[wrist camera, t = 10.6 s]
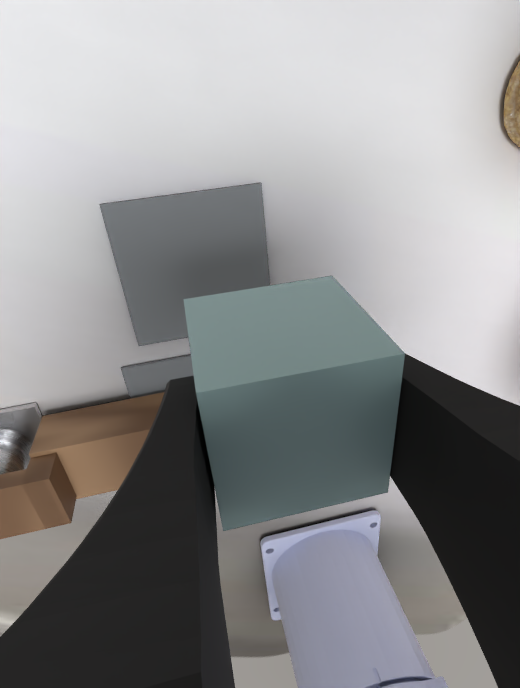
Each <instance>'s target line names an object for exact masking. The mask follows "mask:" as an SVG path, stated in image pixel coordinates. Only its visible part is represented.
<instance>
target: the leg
mask: <svg viewBox="0 0 520 688" xmlns="http://www.w3.org/2000/svg"><path fill="white" fill-rule="evenodd" d="M163 395H164V392H162V393H157V394H152V395H147V396H142V397H137V398H132V399H126V400H121V401H116V402H111V403H106V404H101V405H96V406H91V407H86V408H80V409H75V410H70V411H65V412H60V413H55V414H50V415H45V416H42V419H41V422H40V424H39V427H38V430H37V433H36V435H35V438H34V441H33V444H32V447H31V449H30V452H29V456H30V461H29V464H28V467H27V469H24V470H19V471H15V472H10V473H5V474H0V539H3V538H7V537H12V536H16V535H20V534H25V533H29V532H34V531H38V530H42V529H47V528H51V527H55V526H60V525H64V524H68V523H71V521H72V516H73V511H74V506H75V501H76V499H79V498H83V497H88V496H92V495H97V494H101V493H106V492H110V491H115V490H118V489H119V488H120V486H121V484H122V483H123V481H124V479H125V477H126V476H127V474H128V472H129V470H130V469H131V467H132V465H133V463H134V461H135V459H136V457H137V455H138V453H139V452H140V450H141V448H142V446H143V444H144V442H145V440H146V437H147V435H148V433H149V431H150V428H151V426H152V424H153V422H154V420H155V417H156V415H157V412H158V409H159V407H160V404H161V401H162V398H163Z"/></svg>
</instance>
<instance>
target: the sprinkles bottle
mask: <svg viewBox="0 0 520 688" xmlns="http://www.w3.org/2000/svg"><path fill="white" fill-rule="evenodd" d="M504 126H505V128H506V130H507V132H508V136H509V137H510V138H511V140H512V141H513V142H514V143H515V144H517V146H518V147H520V61H519V63H518V65H517V67H516V68H515V70H514V72H513V74H512V76H511V78H510V81H509V84H508V87H507V90H506V94H505V100H504Z"/></svg>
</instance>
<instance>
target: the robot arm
mask: <svg viewBox="0 0 520 688" xmlns="http://www.w3.org/2000/svg"><path fill="white" fill-rule="evenodd" d="M390 476H391V478H392V479H393V481H394V482H395V484H396V486H397V487H398V489H399V490H400V492H401V493H402V495H403V496H404V498H405V500H406V501H407V503H408V504H409V506H410V507H411V509H412V511H413V512H414V514H415V515H416V517H417V519H418V520H419V522H420V524H421V526H422V527H423V529H424V531H425V532H426V534H427V536H428V538H429V540H430V542H431V544H432V546H433V548H434V550H435V552H436V554H437V556H438V558H439V560H440V562H441V564H442V566H443V568H444V570H445V572H446V574H447V576H448V578H449V580H450V582H451V584H452V586H453V589H454V591H455V593H456V595H457V597H458V599H459V601H460V603H461V605H462V607H463V609H464V611H465V614H466V616H467V618H468V620H469V622H470V625H471V627H472V629H473V631H474V633H475V636H476V638H477V640H478V642H479V644H480V647H481V649H482V651H483V653H484V656H485V658H486V660H487V662H488V664H489V667H490V669H491V672H492V674H493V676H494V679H495V681H496V683H497V686H498V688H520V406H519V405H516V404H513V403H511V402H508V401H506V400H503V399H501V398H498V397H496V396H493V395H491V394H489V393H486V392H484V391H482V390H479V389H477V388H475V387H473V386H470V385H468V384H466V383H464V382H462V381H459V380H457V379H455V378H453V377H451V376H449V375H447V374H445V373H443V372H441V371H439V370H437V369H435V368H433V367H431V366H429V365H427V364H425V363H423V362H421V361H419V360H417V359H415V358H413V357H411V356H409V355H407V354H405V358H404V366H403V374H402V382H401V390H400V398H399V406H398V414H397V422H396V430H395V438H394V446H393V454H392V462H391V471H390ZM380 522H381V516H380V514H379V512H378V511H375V510H373V511H368V512H364V513H360V514H356V515H352V516H348V517H344V518H340V519H336V520H332V521H327V522H323V523H319V524H315V525H311V526H307V527H303V528H299V529H295V530H291V531H287V532H283V533H279V534H275V535H271V536H267V537H264V538H263V539H262V540H261V542H260V545H261V552H262V559H263V566H264V573H265V580H266V587H267V594H268V601H269V607H270V614H271V618H272V619H273V620H281V619H282V623H283V627H284V632H285V636H286V640H287V644H288V648H289V653H290V657H291V661H292V665H293V669H294V674H295V678H296V682H297V686H298V688H448V686H447V684H446V682H445V680H444V678H443V677H442V676H440V677H437V678H435V676H434V674H433V671H432V669H431V667H430V665H429V663H428V661H427V659H426V657H425V655H424V653H423V651H422V648H421V646H420V644H419V642H418V640H417V638H416V636H415V634H414V632H413V630H412V628H411V626H410V623H409V621H408V619H407V617H406V615H405V613H404V611H403V609H402V607H401V605H400V603H399V601H398V598H397V596H396V594H395V592H394V590H393V588H392V586H391V584H390V582H389V580H388V578H387V575H386V573H385V571H384V569H383V567H382V565H381V563H380V561H379V559H378V557H377V555H378V544H379V533H380ZM0 688H235V684H234V678H233V670H232V663H231V656H230V649H229V642H228V635H227V628H226V621H225V614H224V607H223V600H222V593H221V586H220V576H219V565H218V547H217V528H216V508H215V489H214V481H213V476H212V471H211V466H210V461H209V456H208V451H207V446H206V441H205V436H204V431H203V426H202V421H201V416H200V411H199V406H198V401H197V396H196V389H195V382H194V376H188V377H183V378H177V379H172V380H170V381H169V382H168V383H167V384H166V388H165V392H164V395H163V398H162V401H161V404H160V407H159V409H158V412H157V415H156V417H155V420H154V422H153V424H152V426H151V428H150V431H149V433H148V435H147V437H146V440H145V442H144V444H143V446H142V448H141V450H140V452H139V453H138V455H137V457H136V459H135V461H134V463H133V465H132V467H131V469H130V470H129V472H128V474H127V476H126V477H125V479H124V481H123V483H122V484H121V486H120V488H119V489H118V491H117V492H116V494H115V496H114V497H113V499H112V500H111V502H110V503H109V505H108V506H107V508H106V509H105V511H104V512H103V514H102V515H101V517H100V518H99V519H98V521H97V522H96V524H95V525H94V526H93V528H92V529H91V530H90V532H89V533H88V535H87V536H86V537H85V539H84V540H83V542H82V543H81V544H80V545H79V547H78V548H77V549H76V551H75V552H74V553H73V555H72V556H71V557H70V558H69V560H68V561H67V562H66V563H65V564H64V566H63V567H62V568H61V569H60V570H59V572H58V573H57V574H56V575H55V576H54V577H53V579H52V580H51V581H50V582H49V583H48V584H47V586H46V587H45V588H44V589H43V590H42V592H41V593H40V594H39V595H38V596H37V597H36V599H35V600H34V601H33V602H32V603H31V604H30V606H29V607H28V608H27V609H26V610H25V611H24V612H23V613H22V615H21V616H20V617H19V618H18V619H17V620H16V621H15V622H14V623H13V624H12V625H11V626H10V627H9V628H8V629H7V630H6V632H5V633H4V634H3V635H2V636H1V637H0Z"/></svg>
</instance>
